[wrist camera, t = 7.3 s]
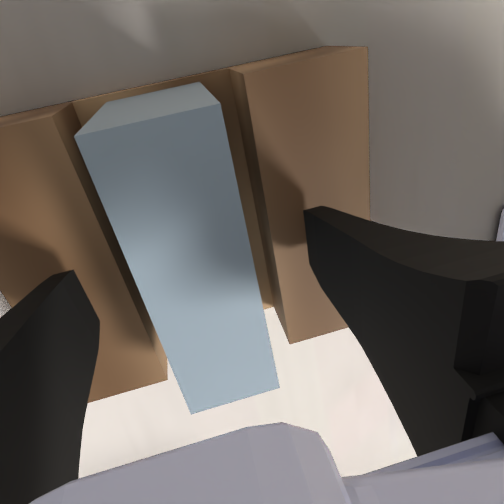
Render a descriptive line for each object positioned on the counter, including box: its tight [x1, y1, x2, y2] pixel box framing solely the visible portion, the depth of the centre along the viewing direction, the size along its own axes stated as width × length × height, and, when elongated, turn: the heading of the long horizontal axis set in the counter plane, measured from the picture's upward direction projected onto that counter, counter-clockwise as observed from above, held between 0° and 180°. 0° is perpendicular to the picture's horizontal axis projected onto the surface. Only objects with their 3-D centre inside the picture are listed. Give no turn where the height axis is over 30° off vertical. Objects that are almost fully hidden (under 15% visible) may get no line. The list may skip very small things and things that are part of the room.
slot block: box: [0, 46, 370, 403], centre depth 13 cm, size 12×10×3 cm
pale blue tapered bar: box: [74, 82, 280, 414], centre depth 12 cm, size 3×9×5 cm, turn 10°
